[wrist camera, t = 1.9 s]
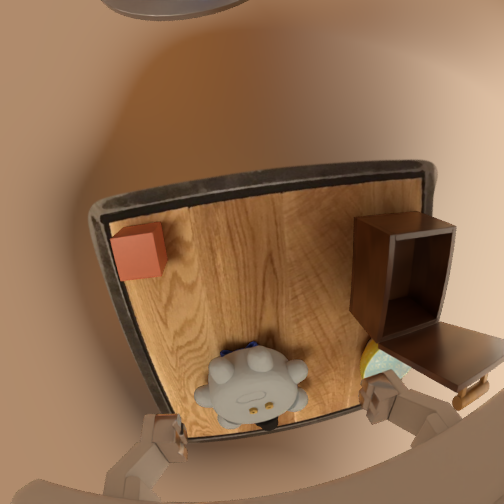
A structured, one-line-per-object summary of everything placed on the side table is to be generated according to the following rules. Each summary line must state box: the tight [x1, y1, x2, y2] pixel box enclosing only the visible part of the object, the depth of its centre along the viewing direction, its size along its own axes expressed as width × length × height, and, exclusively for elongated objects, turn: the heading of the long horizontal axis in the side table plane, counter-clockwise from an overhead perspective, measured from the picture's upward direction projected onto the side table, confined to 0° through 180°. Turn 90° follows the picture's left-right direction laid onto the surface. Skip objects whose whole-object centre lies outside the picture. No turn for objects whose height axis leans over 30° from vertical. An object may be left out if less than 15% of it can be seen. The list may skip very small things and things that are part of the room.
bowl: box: [360, 338, 411, 379], centre depth 41 cm, size 11×12×6 cm
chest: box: [349, 211, 456, 343], centre depth 35 cm, size 15×12×9 cm
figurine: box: [194, 341, 308, 431], centre depth 39 cm, size 17×8×20 cm
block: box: [110, 222, 168, 281], centre depth 31 cm, size 5×5×5 cm
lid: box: [378, 322, 504, 411], centre depth 25 cm, size 15×12×6 cm
